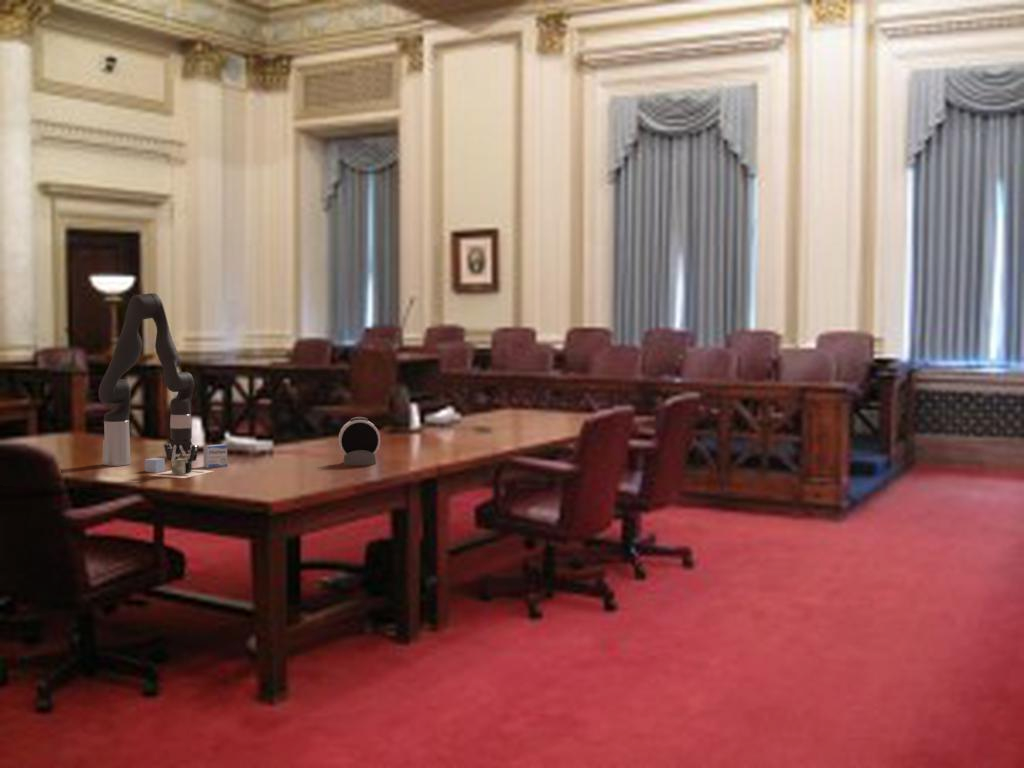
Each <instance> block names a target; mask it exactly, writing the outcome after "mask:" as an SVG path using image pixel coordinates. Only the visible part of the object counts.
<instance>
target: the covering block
mask: <svg viewBox="0 0 1024 768" xmlns="http://www.w3.org/2000/svg"><path fill="white" fill-rule="evenodd" d="M185 463H186V461H185V458H180V457H179V458H178V459H175V460H172V462H171V470H172V474H188V473H186V469H185ZM192 464H193V462H192V463H191V468H192ZM190 473H192V470H191V472H190Z"/></svg>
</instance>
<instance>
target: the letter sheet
mask: <svg viewBox="0 0 1024 768" xmlns="http://www.w3.org/2000/svg"><path fill="white" fill-rule="evenodd" d="M212 472H214V470H205V469H204V470H203V469H192V473H188V474H172V469H171V470H168V471H161V472H156V473H153V474H149V475H148V476H149V477H163V478H164V477H166V478H177V479H187V478H191V477H195V476H199V475H204V474H208V473H212Z"/></svg>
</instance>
